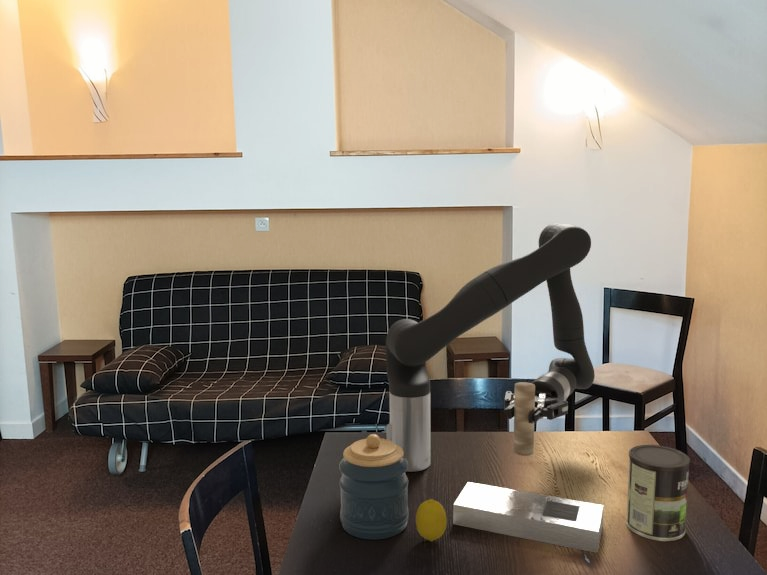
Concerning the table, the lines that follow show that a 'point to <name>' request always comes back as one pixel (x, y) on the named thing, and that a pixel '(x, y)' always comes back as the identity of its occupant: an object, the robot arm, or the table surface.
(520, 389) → the peg
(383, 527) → the canister
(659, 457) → the coffee can
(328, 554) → the table surface
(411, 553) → the table surface
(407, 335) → the robot arm
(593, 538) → the block
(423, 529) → the lemon
